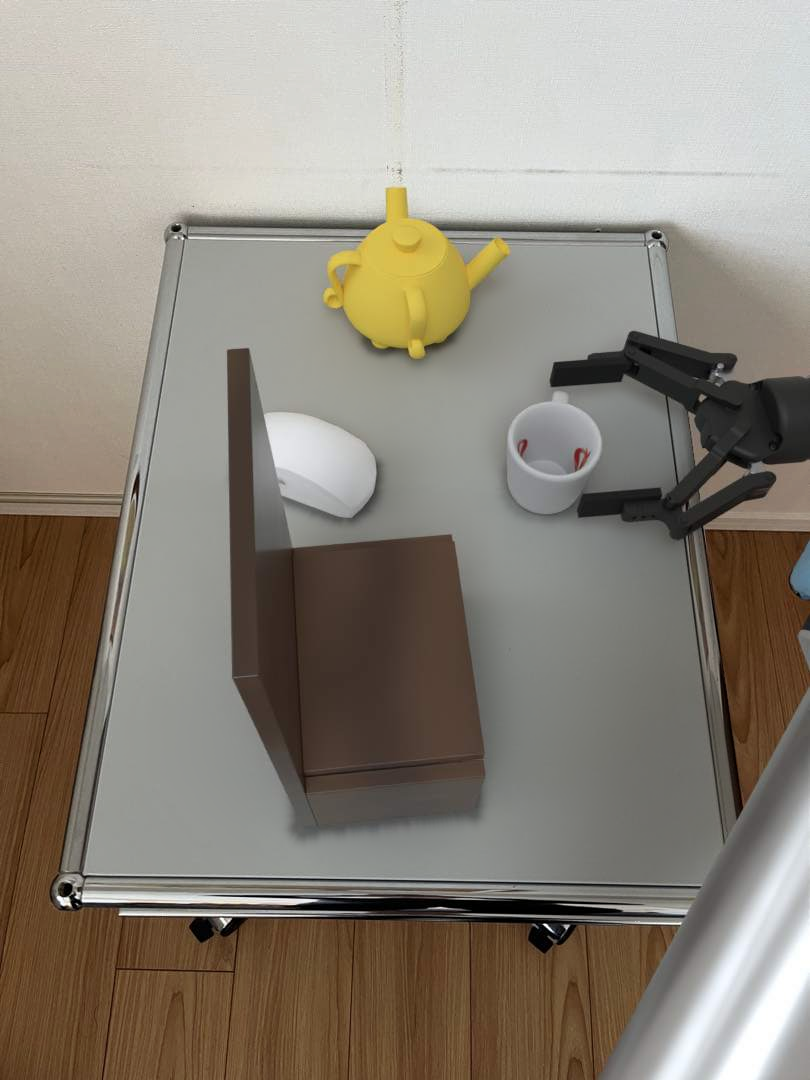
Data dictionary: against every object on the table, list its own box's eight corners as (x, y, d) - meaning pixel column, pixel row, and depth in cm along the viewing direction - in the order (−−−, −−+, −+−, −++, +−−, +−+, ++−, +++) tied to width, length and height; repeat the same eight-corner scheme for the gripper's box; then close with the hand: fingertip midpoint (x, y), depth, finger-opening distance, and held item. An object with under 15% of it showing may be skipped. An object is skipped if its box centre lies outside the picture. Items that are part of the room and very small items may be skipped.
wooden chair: (445, 593, 80) (473, 330, 50) (474, 810, 72) (529, 651, 42) (291, 606, 80) (226, 348, 50) (302, 828, 71) (231, 678, 41)
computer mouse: (260, 425, 88) (251, 384, 83) (387, 470, 86) (386, 432, 80) (229, 479, 85) (217, 440, 80) (359, 527, 83) (356, 491, 78)
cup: (510, 420, 89) (520, 367, 82) (594, 434, 88) (611, 382, 81) (492, 517, 84) (500, 469, 77) (580, 533, 83) (597, 487, 76)
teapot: (506, 305, 95) (518, 221, 85) (426, 391, 90) (429, 312, 80) (394, 242, 99) (393, 155, 89) (311, 321, 94) (301, 237, 84)
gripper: (831, 565, 79) (585, 586, 78) (752, 335, 91) (536, 351, 90) (871, 522, 73) (602, 545, 72) (780, 281, 84) (547, 297, 83)
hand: (565, 437), depth 81 cm, fingers open, 13 cm apart
